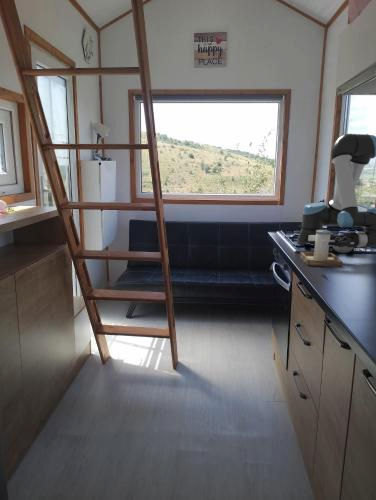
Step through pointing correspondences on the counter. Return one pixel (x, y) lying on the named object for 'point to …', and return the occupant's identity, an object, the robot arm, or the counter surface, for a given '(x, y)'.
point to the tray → (331, 261)
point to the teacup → (342, 249)
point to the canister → (319, 250)
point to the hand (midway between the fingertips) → (314, 240)
